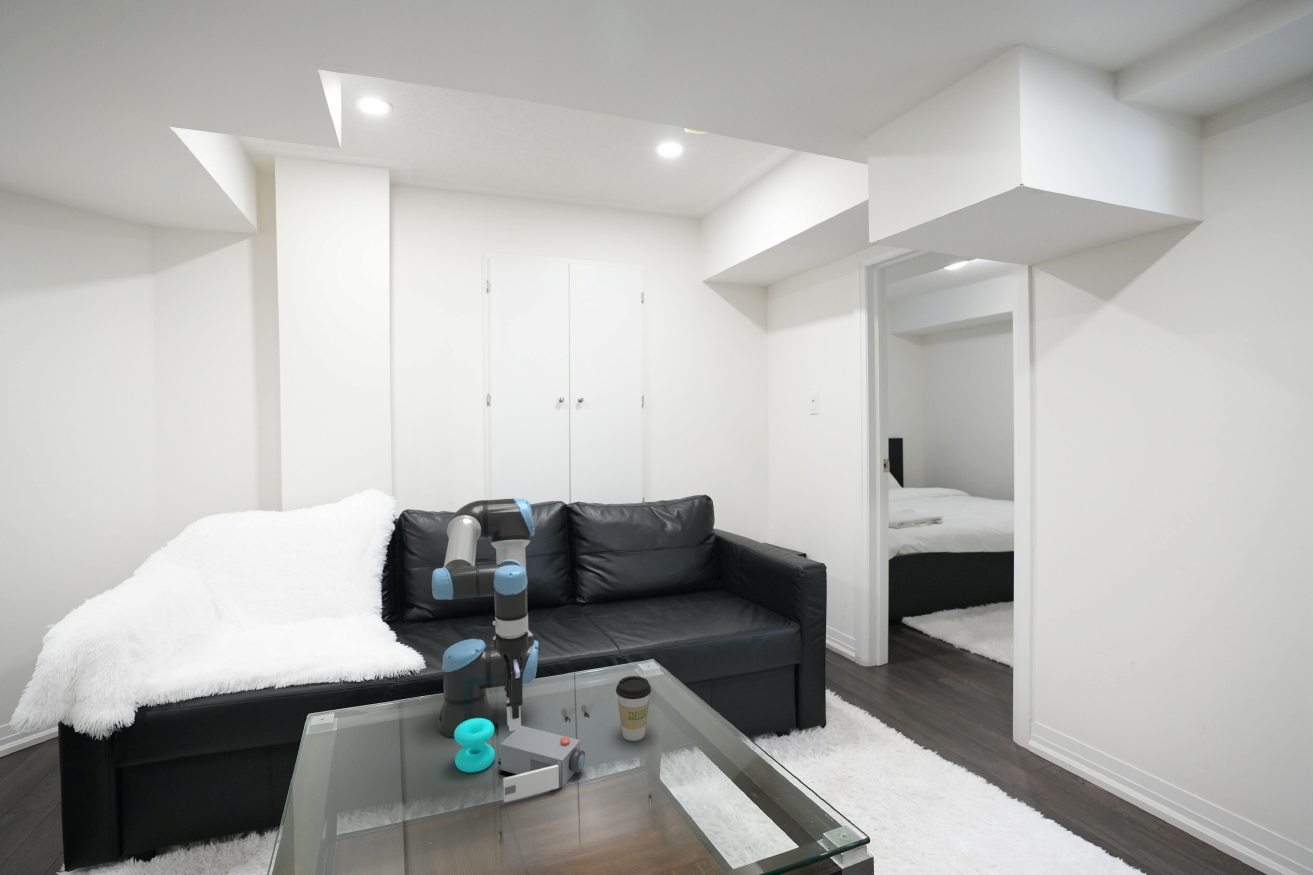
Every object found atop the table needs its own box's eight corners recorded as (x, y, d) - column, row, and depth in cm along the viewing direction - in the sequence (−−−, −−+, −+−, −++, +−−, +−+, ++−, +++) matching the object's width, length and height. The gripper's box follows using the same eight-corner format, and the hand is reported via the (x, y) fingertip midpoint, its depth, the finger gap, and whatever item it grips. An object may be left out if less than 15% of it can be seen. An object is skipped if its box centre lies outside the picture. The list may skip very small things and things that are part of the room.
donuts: (451, 739, 158) (456, 717, 168) (452, 776, 159) (457, 753, 169) (492, 735, 160) (495, 714, 169) (493, 772, 161) (496, 749, 170)
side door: (504, 804, 148) (504, 779, 148) (503, 800, 150) (502, 774, 149) (562, 789, 154) (562, 764, 153) (560, 785, 155) (560, 760, 154)
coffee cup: (647, 746, 172) (647, 694, 170) (612, 742, 174) (611, 690, 172) (654, 726, 181) (654, 676, 180) (621, 722, 183) (620, 673, 182)
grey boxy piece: (500, 770, 162) (499, 741, 161) (521, 749, 170) (520, 722, 169) (571, 789, 154) (570, 759, 153) (588, 767, 163) (588, 739, 162)
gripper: (490, 623, 155) (493, 714, 157) (501, 647, 141) (503, 747, 144) (521, 618, 158) (523, 707, 160) (534, 642, 144) (536, 739, 147)
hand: (514, 726), depth 152 cm, fingers open, 2 cm apart
